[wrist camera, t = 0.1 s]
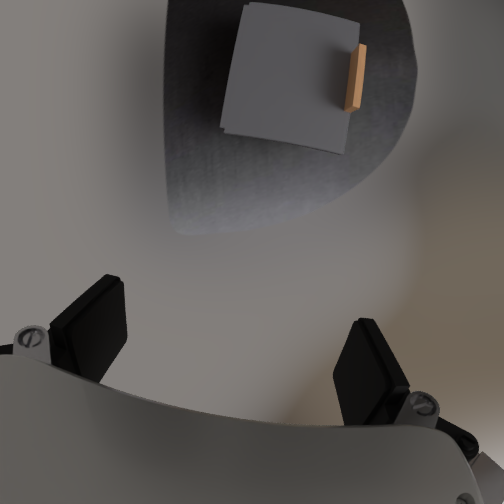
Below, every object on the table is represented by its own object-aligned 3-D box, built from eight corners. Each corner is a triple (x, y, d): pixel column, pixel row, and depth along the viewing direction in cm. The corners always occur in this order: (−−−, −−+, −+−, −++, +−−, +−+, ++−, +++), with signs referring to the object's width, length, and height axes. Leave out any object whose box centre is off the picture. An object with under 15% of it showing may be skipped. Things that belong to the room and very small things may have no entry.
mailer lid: (246, 9, 26) (242, -12, 20) (355, 29, 26) (368, 12, 20) (221, 133, 32) (213, 129, 26) (338, 154, 32) (352, 154, 26)
